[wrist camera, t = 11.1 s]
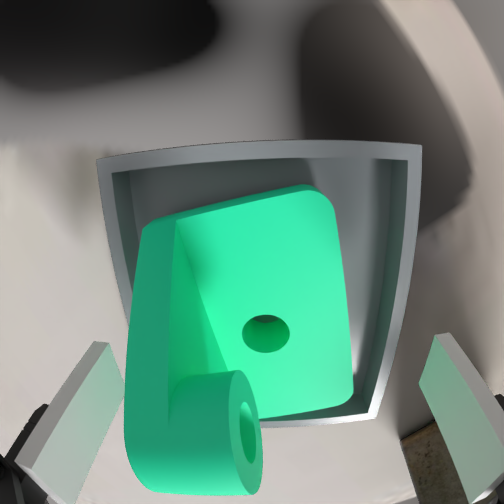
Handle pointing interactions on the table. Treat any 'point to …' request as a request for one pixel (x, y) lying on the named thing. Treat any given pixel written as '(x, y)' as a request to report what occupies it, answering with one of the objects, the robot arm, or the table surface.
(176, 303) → the camera mount
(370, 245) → the tray
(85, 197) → the table surface
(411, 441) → the vintage camera
